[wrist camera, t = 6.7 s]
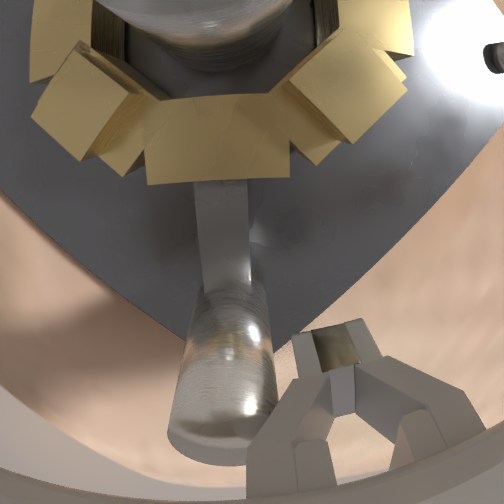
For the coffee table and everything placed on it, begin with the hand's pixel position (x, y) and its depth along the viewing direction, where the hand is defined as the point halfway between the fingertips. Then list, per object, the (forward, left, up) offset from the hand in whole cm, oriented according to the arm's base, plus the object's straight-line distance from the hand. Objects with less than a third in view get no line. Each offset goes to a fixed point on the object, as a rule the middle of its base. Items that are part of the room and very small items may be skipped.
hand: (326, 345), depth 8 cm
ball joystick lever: (-6, +3, -3) cm, 8 cm away
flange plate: (-8, +5, -5) cm, 11 cm away
